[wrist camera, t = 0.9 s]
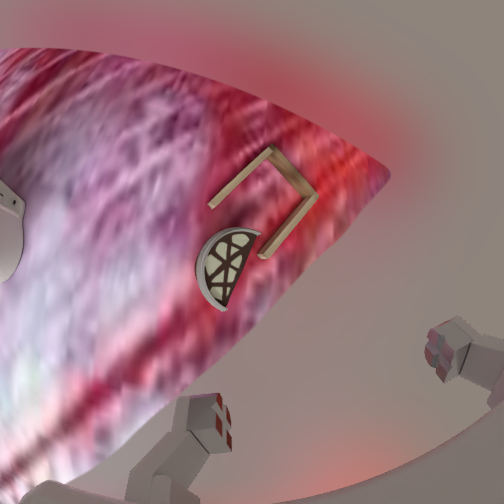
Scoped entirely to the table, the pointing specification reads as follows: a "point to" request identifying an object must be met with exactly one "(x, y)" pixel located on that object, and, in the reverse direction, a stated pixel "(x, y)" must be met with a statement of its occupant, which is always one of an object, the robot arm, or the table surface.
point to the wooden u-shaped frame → (292, 178)
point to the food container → (223, 263)
